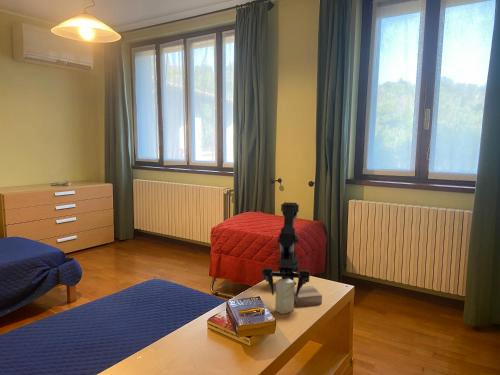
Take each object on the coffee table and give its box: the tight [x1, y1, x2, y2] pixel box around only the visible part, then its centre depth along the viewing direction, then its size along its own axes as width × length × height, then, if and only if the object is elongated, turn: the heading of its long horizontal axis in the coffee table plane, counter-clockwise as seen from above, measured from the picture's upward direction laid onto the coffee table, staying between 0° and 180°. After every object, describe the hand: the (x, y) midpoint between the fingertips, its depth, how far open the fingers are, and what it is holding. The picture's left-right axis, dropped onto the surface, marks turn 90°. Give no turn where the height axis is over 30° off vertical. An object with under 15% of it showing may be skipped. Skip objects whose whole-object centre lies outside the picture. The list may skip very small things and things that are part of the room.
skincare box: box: [274, 278, 296, 315], centre depth 149 cm, size 6×4×12 cm
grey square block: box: [294, 285, 323, 307], centre depth 159 cm, size 10×10×4 cm
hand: (284, 295), depth 147 cm, fingers open, 9 cm apart
